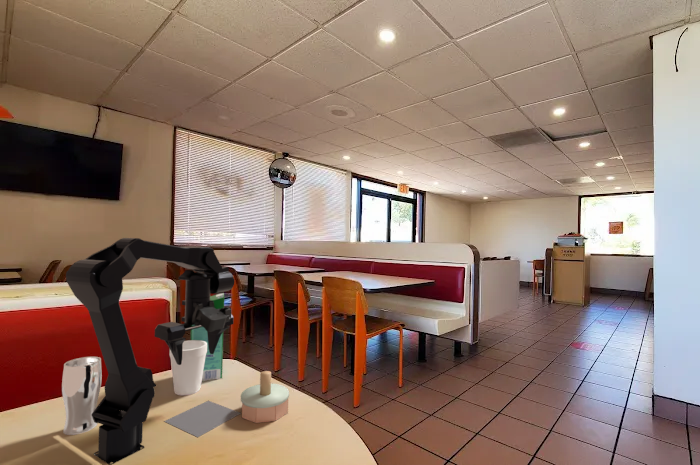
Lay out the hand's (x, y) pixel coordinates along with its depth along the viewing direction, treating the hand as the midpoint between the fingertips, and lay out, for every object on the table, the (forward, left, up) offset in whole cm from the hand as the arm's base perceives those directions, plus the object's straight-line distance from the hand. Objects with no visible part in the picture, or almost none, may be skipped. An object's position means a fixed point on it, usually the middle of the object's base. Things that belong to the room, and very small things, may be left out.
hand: (196, 358), depth 87 cm
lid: (+8, -16, -8) cm, 20 cm away
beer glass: (-19, +13, -13) cm, 26 cm away
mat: (-2, -6, -12) cm, 14 cm away
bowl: (+8, -16, -12) cm, 22 cm away
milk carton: (+15, +15, -13) cm, 25 cm away
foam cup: (+5, +10, -13) cm, 17 cm away
